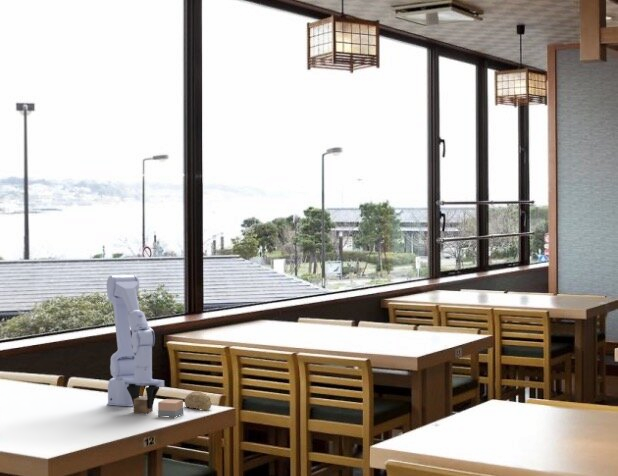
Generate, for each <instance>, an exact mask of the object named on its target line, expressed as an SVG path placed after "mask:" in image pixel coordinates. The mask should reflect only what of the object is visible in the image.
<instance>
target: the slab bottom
mask: <svg viewBox="0 0 618 476" xmlns="http://www.w3.org/2000/svg"><path fill="white" fill-rule="evenodd" d="M181 414H183V415H184V407H183V408H181V409H179V410H177V411H164V410H158V409H157V417H158V416H169V417H168V418H170V417H176V416H178V417H180V416H179V415H181ZM181 416H182V415H181ZM176 418H177V417H176Z"/></svg>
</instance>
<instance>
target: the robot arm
mask: <svg viewBox="0 0 618 476" xmlns="http://www.w3.org/2000/svg"><path fill="white" fill-rule="evenodd" d="M108 276H109V277H107V280H106V291H107V292H106V293H107V295H106V296H107V298H108V299H107V301H109V302H111V303H112V306H113V307H112V308H113V315H114V325H115V335H116V345H117V351H115V352H114V353H112V355H111V356H110V366H109V369H110V375H111V376H112V378H110V379H109V381H108V383H107V403H106V405H107V406H118V407H119V406H120V407H134V399H135V398H138V397H140V392H141V387H142V386H144V387H145V386H146V387H145V392H146V397H147V407H148V409H150V408H152V407H153V408H154V401H155V399H156V396H157V393H158V391H159V389H160V388H163V387H165V380H163V379H155V378H153V347H154V346H155V343H156V341H155V340H156V337H155V336H156V335H155V331H154V329H153V328H152V327H151V326H149V324H148V321H147V317H146V315H145V312H144V311H142V310H141V309H140V306H139V300H138V291H139V288H140V280H139V277H138V276H137V275H136V274H133V275H132V274H130V275H108Z"/></svg>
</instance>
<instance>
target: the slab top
mask: <svg viewBox="0 0 618 476" xmlns="http://www.w3.org/2000/svg"><path fill="white" fill-rule="evenodd" d="M157 405H158V406H157V408H158V409H157V411H158V410H164V411H177V410H179V409H181V408H183V409H184V400H183V399H172V398H166V399H162V400H161V401H158V403H157Z"/></svg>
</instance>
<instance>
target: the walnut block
mask: <svg viewBox="0 0 618 476" xmlns="http://www.w3.org/2000/svg"><path fill="white" fill-rule="evenodd" d="M153 409H154V406H153V407H152V408H150V409H148V407H147V396H139V397H138V398H135V399H134V406H133V413H134V414H142V413H143V414H144V415H146V414H149V413H152V412H153ZM151 411H152V412H151Z"/></svg>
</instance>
